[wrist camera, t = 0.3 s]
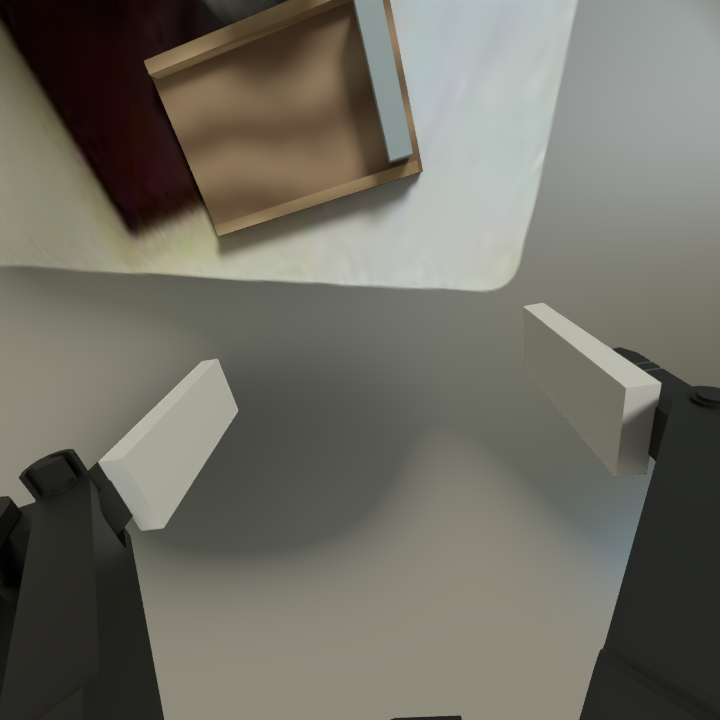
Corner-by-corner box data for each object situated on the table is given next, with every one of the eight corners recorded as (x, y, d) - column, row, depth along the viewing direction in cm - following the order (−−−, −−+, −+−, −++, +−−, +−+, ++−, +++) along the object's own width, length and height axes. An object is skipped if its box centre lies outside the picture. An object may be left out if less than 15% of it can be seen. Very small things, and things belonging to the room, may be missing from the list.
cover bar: (353, 7, 30) (350, -18, 27) (376, -2, 30) (376, -29, 26) (389, 163, 35) (390, 160, 31) (409, 157, 35) (412, 153, 31)
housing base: (155, 72, 34) (138, 63, 31) (383, -22, 30) (384, -40, 28) (223, 234, 40) (213, 237, 37) (421, 171, 36) (424, 170, 34)
